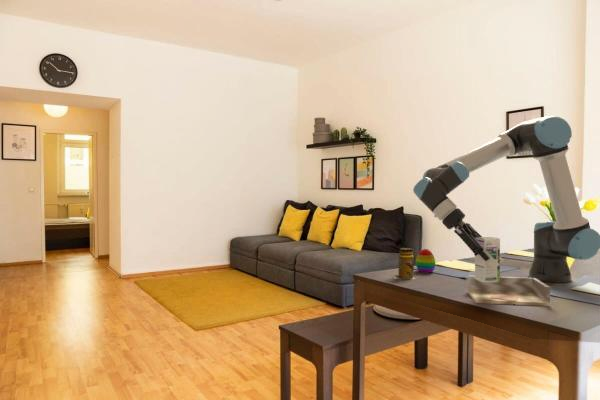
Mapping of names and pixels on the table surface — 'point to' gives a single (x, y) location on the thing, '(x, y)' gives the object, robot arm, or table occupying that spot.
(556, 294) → the table surface
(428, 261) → the decorative egg
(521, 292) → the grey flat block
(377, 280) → the table surface
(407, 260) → the condiment
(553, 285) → the table surface
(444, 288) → the table surface
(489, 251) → the syrup box
